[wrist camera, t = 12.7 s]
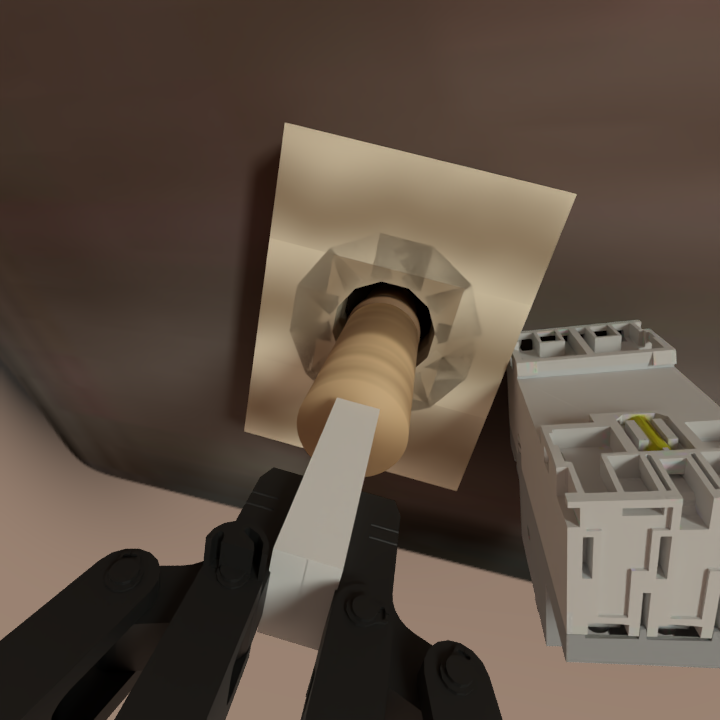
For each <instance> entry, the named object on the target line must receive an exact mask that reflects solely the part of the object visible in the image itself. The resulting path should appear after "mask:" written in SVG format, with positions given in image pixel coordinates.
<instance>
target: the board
mask: <svg viewBox="0 0 720 720" xmlns="http://www.w3.org/2000/svg"><path fill="white" fill-rule="evenodd" d="M576 195H577V194H574V193H570V192H566V191H562V190H558V189H554V188H550V187H546V186H542V185H538V184H534V183H530V182H526V181H522V180H518V179H514V178H509V177H505V176H501V175H497V174H493V173H489V172H485V171H481V170H477V169H473V168H469V167H465V166H461V165H457V164H452V163H448V162H444V161H440V160H436V159H432V158H428V157H424V156H420V155H416V154H412V153H408V152H404V151H400V150H395V149H391V148H387V147H383V146H379V145H375V144H371V143H367V142H363V141H359V140H355V139H351V138H347V137H343V136H338V135H334V134H330V133H326V132H322V131H318V130H314V129H310V128H306V127H302V126H297V125H293V124H289V123H285V126H284V134H283V141H282V149H281V156H280V164H279V171H278V179H277V187H276V194H275V202H274V209H273V217H272V224H271V232H270V239H269V247H268V254H267V262H266V269H265V277H264V285H263V292H262V300H261V307H260V315H259V322H258V330H257V337H256V345H255V352H254V360H253V368H252V375H251V383H250V390H249V398H248V405H247V413H246V420H245V428H244V431H245V432H248V433H252V434H255V435H259V436H263V437H266V438H270V439H273V440H277V441H280V442H284V443H287V444H291V445H295V446H298V447H302V448H304V447H303V446H302V444H301V442H300V439H299V436H298V432H297V415H298V412H299V409H300V406H301V404H302V402H303V401H304V399H305V397H306V395H307V393H308V392H309V390H310V388H311V386H312V384H313V383H314V381H315V379H316V377H317V375H318V373H319V372H320V370H321V368H322V366H323V364H324V363H325V361H326V359H327V357H328V355H329V354H330V352H331V350H332V348H333V346H334V345H335V343H336V341H337V339H338V337H339V336H340V334H341V332H342V330H343V328H344V326H345V325H346V323H347V320H348V317H347V314H346V311H345V309H346V305H347V300H348V296H349V295H350V294H351V292H352V291H353V290H354V289H356V288H359V287H363V286H367V285H370V284H374V283H378V282H381V281H382V282H386V283H389V284H393V285H397V286H401V287H405V288H409V289H410V290H411V291H412V292H413V293H414V294H415V295H416V296H417V297H418V298H419V299H420V300H421V301H422V302H423V303H424V304H425V305H426V306H427V307H428V308H429V311H430V315H431V319H432V324H431V327H430V330H429V333H428V334H427V335H425V336H424V337H423V338H422V339H421V340H420V341H419V345H418V351H417V360H416V370H415V379H414V389H413V398H412V408H411V417H410V427H409V436H408V443H407V447H406V449H405V451H404V453H403V455H402V457H401V458H400V459H399V460H398V462H397V463H396V464H394V465H393V466H392V467H391V468H389V469H388V470H386V471H387V472H390V473H394V474H397V475H401V476H405V477H408V478H412V479H415V480H419V481H422V482H426V483H429V484H433V485H436V486H440V487H444V488H447V489H451V490H454V491H457V489H458V487H459V484H460V482H461V479H462V477H463V474H464V472H465V469H466V467H467V465H468V462H469V460H470V457H471V455H472V452H473V450H474V447H475V445H476V442H477V440H478V437H479V435H480V432H481V430H482V427H483V425H484V422H485V420H486V418H487V415H488V413H489V410H490V408H491V405H492V403H493V400H494V398H495V395H496V393H497V390H498V388H499V385H500V383H501V380H502V378H503V375H504V373H505V371H506V368H507V366H508V363H509V361H510V358H511V356H512V353H513V351H514V348H515V346H516V343H517V341H518V338H519V336H520V333H521V331H522V328H523V326H524V324H525V321H526V319H527V316H528V314H529V311H530V309H531V306H532V304H533V301H534V299H535V296H536V294H537V291H538V289H539V286H540V284H541V281H542V279H543V277H544V274H545V272H546V269H547V267H548V264H549V262H550V259H551V257H552V254H553V252H554V249H555V247H556V244H557V242H558V239H559V237H560V234H561V232H562V230H563V227H564V225H565V222H566V220H567V217H568V215H569V212H570V210H571V207H572V205H573V202H574V200H575V197H576Z"/></svg>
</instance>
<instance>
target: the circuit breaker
mask: <svg viewBox="0 0 720 720" xmlns="http://www.w3.org/2000/svg"><path fill="white" fill-rule="evenodd" d="M606 330H607V335H606V336H596V335H595V333H594V332H595V331H606ZM618 330H622V335H621V334H620V333H619V332H618ZM580 334H584V339H583V338H582V337H581V335H580ZM554 335H555V340H553V341H543V342H542V341H541V339H540V337H543V336H554ZM562 336H567V342H565V340H564V338H563V337H562ZM525 339H532V350H527V351H522V350H521V348H520V346H521V340H525ZM621 339H622V342H621ZM674 364H676V349H674V348H673V347H672V346H671V345H669V344H668V343H667V342H666V341H664V340H663V339H662V338H661V337H659V336H658V335H657V334H656V333H654V332H653V331H652V330H651V329H641V321H639V320H631V321H621V322H611V323H601V324H591V325H581V326H571V327H561V328H551V329H541V330H531V331H521V333H520V336H519V338H518V341H517V343H516V346H515V348H514V351H513V353H512V356H511V358H510V361H509V363H508V366H507V384H508V405H509V425H510V444H511V449H512V452H513V456H514V460H515V461H517V466H516V468H517V472H518V476H519V484H520V508H521V531H522V539H523V543H524V548H525V552H526V556H527V561H528V565H529V570H530V574H531V579H532V583H533V588H534V592H535V600H536V605H537V609H538V612H539V615H540V619H541V623H542V627H543V632H544V637H545V641H546V645H547V646H562V648H563V652H564V656H565V660H566V661H567V662H585V663H609V664H632V665H656V666H680V667H704V668H720V407H719V406H718V405H717V404H716V403H715V402H714V401H713V400H711V399H710V398H709V397H708V396H707V395H706V394H705V393H704V392H702V391H701V390H700V389H699V388H698V387H697V386H696V385H694V384H693V383H692V382H691V381H690V380H689V379H688V378H686V377H685V376H684V375H683V374H682V373H681V372H680V371H679V370H677V369H676V368H675V367H674Z"/></svg>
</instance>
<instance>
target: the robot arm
mask: <svg viewBox="0 0 720 720" xmlns="http://www.w3.org/2000/svg"><path fill="white" fill-rule="evenodd" d="M379 412H380V409H377V408H374V407H370V406H366V405H363V404H359V403H356V402H352V401H348V400H345V399H341V398H337V399H336V401H335V403H334V406H333V408H332V410H331V413H330V415H329V417H328V420H327V422H326V425H325V427H324V429H323V432H322V434H321V436H320V439H319V441H318V444H317V446H316V448H315V451H314V453H313V455H312V458H311V460H310V463H309V465H308V467H307V470H306V472H305V474H304V476H302V475H298V474H295V473H291V472H288V471H284V470H281V469H277V468H272V469H271V470H269V471H268V472H267V473H265V474H264V475H262V476H261V477H260V478H259V480H258V482H257V484H256V486H255V487H254V489H253V492H252V493H251V495H250V496H249V498H248V500H247V502H246V504H245V505H244V507H243V509H242V511H241V513H240V514H239V516H238V518H237V520H236V521H233V522H227V523H224V524H222V525H220V526H218V527H216V528H214V529H213V530H212V531H211V532H210V533H209V534H208V535H207V537H206V543H205V553H204V561H202V562H199V563H196V564H193V565H184V566H159V563H158V560H157V559H156V558H155V557H154V556H153V555H152V554H151V553H150V552H147V551H144V550H141V549H124V550H120V551H116V552H113V553H111V554H109V555H107V556H106V557H104V558H102V559H101V560H99V561H98V562H97V563H95V564H94V565H93V566H92V567H91V568H89V569H88V570H87V571H86V572H84V573H83V574H82V575H81V576H79V577H78V578H77V579H76V580H75V581H73V582H72V583H71V584H70V585H68V586H67V587H66V588H65V589H63V590H62V591H61V592H60V593H59V594H57V595H56V596H55V597H54V598H52V599H51V600H50V601H49V602H47V603H46V604H45V605H44V606H43V607H41V608H40V609H39V610H38V611H36V612H35V613H34V614H33V615H31V617H29V618H28V619H26V620H25V621H24V622H23V623H22V624H20V625H19V626H18V627H17V628H15V629H14V630H13V631H12V632H10V633H9V634H8V635H7V636H6V637H4V638H3V639H2V640H1V641H0V720H107V718H108V717H109V716H110V715H111V714H112V712H113V711H114V710H115V709H116V708H117V706H118V705H119V704H120V703H121V702H122V701H123V700H124V698H125V697H126V696H127V695H128V694H129V695H128V697H127V699H126V700H125V702H124V704H123V706H122V708H121V709H120V711H119V712H118V714H117V716H116V718H115V719H114V720H225V719H226V716H227V714H228V711H229V709H230V706H231V703H232V701H233V698H234V695H235V693H236V690H237V687H238V685H239V682H240V679H241V677H242V674H243V671H244V669H245V666H246V663H247V661H248V658H249V653H250V647H251V643H252V640H253V638H254V635H255V633H256V630H257V628H258V630H257V632H260V633H263V634H266V635H269V636H273V637H276V638H279V639H283V640H286V641H289V642H292V643H296V644H299V645H302V646H306V647H309V648H312V649H315V650H318V655H317V659H316V662H315V666H314V669H313V673H312V676H311V680H310V683H309V686H308V690H307V693H306V700H305V704H304V709H303V713H302V717H301V720H502V716H501V713H500V710H499V707H498V703H497V700H496V697H495V694H494V690H493V687H492V684H491V681H490V677H489V675H488V673H487V671H486V669H485V666H484V665H483V663H482V661H481V660H480V659H479V658H478V657H477V656H476V654H475V653H474V652H473V651H472V650H470V649H469V648H467V647H466V646H464V645H462V644H461V643H457V642H453V641H449V640H447V641H441V642H437V643H436V644H434V645H433V646H432V645H431V644H429V643H428V642H426V641H425V640H423V639H422V638H420V637H419V636H417V635H416V634H414V633H413V632H412V631H411V630H410V629H408V628H407V627H406V626H405V625H404V624H403V622H402V621H401V620H400V619H399V617H398V615H397V613H396V611H395V608H394V605H393V596H392V593H393V583H394V573H395V564H396V554H397V544H398V535H399V534H398V533H399V526H400V513H399V511H398V508H397V506H396V503H395V501H394V500H390V499H387V498H383V497H380V496H376V495H373V494H369V493H366V492H362V491H361V490H362V486H363V481H364V477H365V473H366V468H367V464H368V460H369V455H370V451H371V447H372V442H373V438H374V434H375V429H376V425H377V421H378V416H379ZM130 691H131V692H130ZM129 692H130V693H129Z"/></svg>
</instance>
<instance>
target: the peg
mask: <svg viewBox="0 0 720 720" xmlns="http://www.w3.org/2000/svg"><path fill="white" fill-rule="evenodd" d="M416 314H417V307H416V303H415V300H414V298H413V297H412V295H411V294H410V293H409V292H408V291H407V290H406V289H404V288H402V287H400V286H397V285H393V284H385V285H381V286H378V287H376V288H375V289H373V290H372V291H371V292H370V293H369V294H368V295H367V297H366V298H365V300H363V301H361V302H360V303H359V304H358V305H357V306H356V307H355V308H354V309H353V311H352V312H351V314H350V316H349V318H348V320H347V323H346V325H345V326H344V328H343V330H342V332H341V334H340V336H339V337H338V339H337V341H336V343H335V345H334V346H333V348H332V350H331V352H330V354H329V355H328V357H327V359H326V361H325V363H324V364H323V366H322V368H321V370H320V372H319V373H318V375H317V377H316V379H315V381H314V383H313V384H312V386H311V388H310V390H309V392H308V393H307V395H306V397H305V399H304V401H303V402H302V404H301V406H300V409H299V412H298V415H297V432H298V436H299V439H300V442H301V444H302V446H303V447H304V449H305V450H306V452H307V453H308V454H309V456H310V457H311V458H312V455H313V453H314V451H315V448H316V446H317V444H318V441H319V439H320V436H321V434H322V432H323V429H324V427H325V425H326V422H327V420H328V417H329V415H330V413H331V410H332V408H333V406H334V403H335V401H336V399H337V398H341V399H345V400H348V401H352V402H356V403H359V404H363V405H366V406H370V407H374V408H377V409H380V412H379V416H378V421H377V425H376V429H375V434H374V438H373V442H372V447H371V451H370V455H369V460H368V464H367V468H366V473H365V477H369V476H373V475H377V474H380V473H382V472H384V471H386V470H388V469H389V468H391V467H392V466H393V465H394V464H396V463H397V462H398V460H399V459H400V458H401V457H402V455H403V453H404V451H405V449H406V447H407V443H408V436H409V427H410V417H411V408H412V398H413V389H414V379H415V370H416V360H417V351H418V345H419V340H420V324H419V320H418V318H417V316H416Z"/></svg>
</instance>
